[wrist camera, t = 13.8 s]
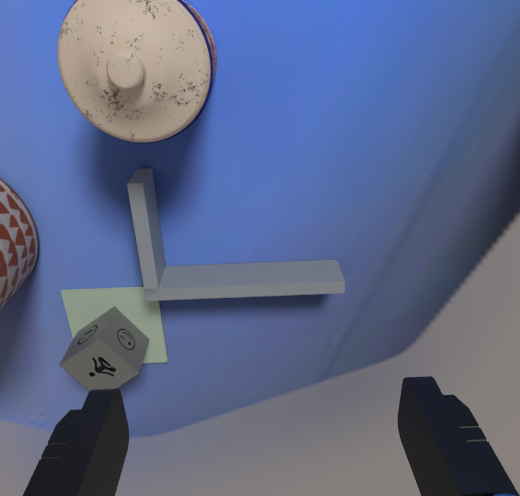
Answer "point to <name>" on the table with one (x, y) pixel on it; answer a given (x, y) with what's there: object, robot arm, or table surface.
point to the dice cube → (106, 352)
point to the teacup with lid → (137, 66)
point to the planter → (15, 242)
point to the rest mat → (129, 304)
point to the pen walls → (216, 275)
